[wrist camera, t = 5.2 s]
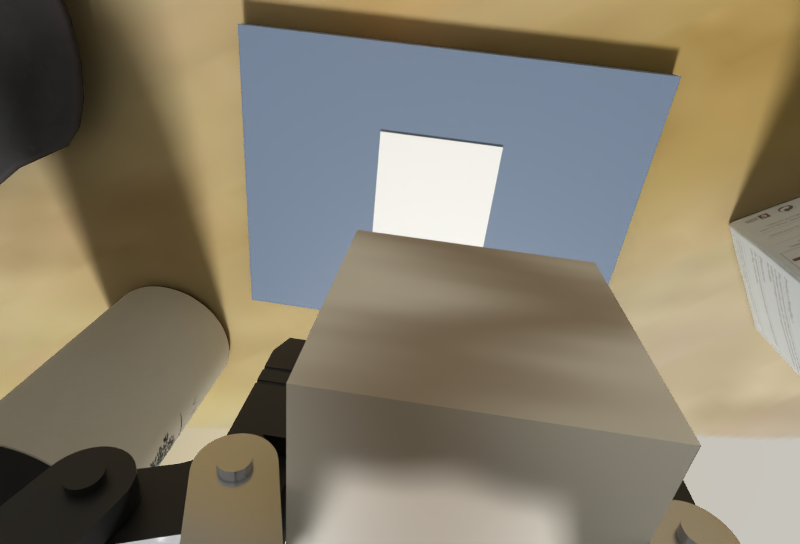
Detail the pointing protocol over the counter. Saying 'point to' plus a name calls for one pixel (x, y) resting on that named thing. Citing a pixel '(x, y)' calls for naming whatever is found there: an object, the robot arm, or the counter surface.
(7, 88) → the casserole
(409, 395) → the cream block
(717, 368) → the counter surface
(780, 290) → the supplement box
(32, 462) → the travel mug
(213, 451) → the robot arm
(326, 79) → the blue board
